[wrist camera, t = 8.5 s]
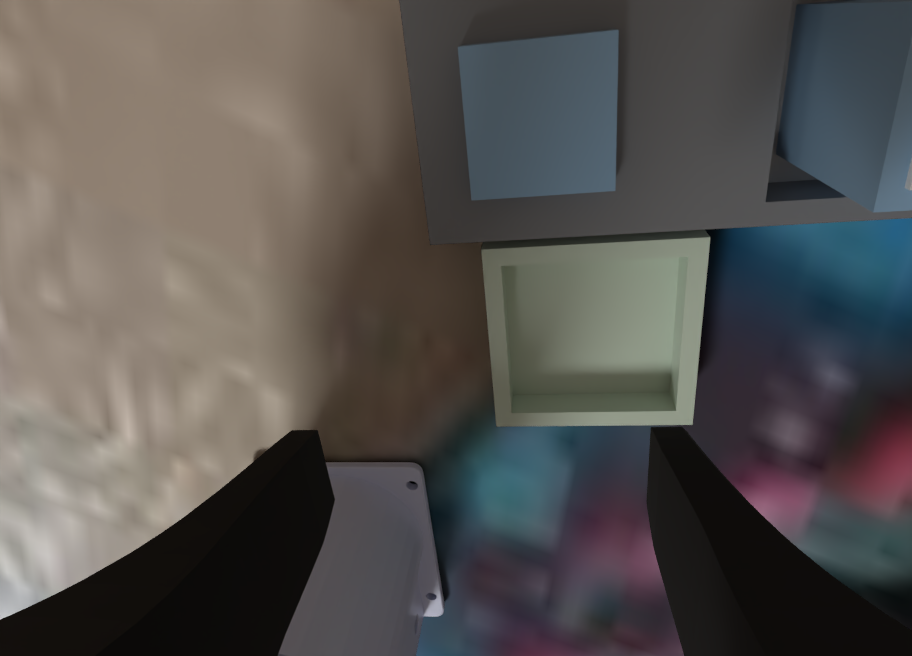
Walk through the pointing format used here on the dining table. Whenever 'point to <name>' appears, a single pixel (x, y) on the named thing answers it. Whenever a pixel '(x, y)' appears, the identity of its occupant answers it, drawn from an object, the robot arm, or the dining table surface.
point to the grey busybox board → (606, 118)
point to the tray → (596, 328)
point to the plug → (852, 100)
